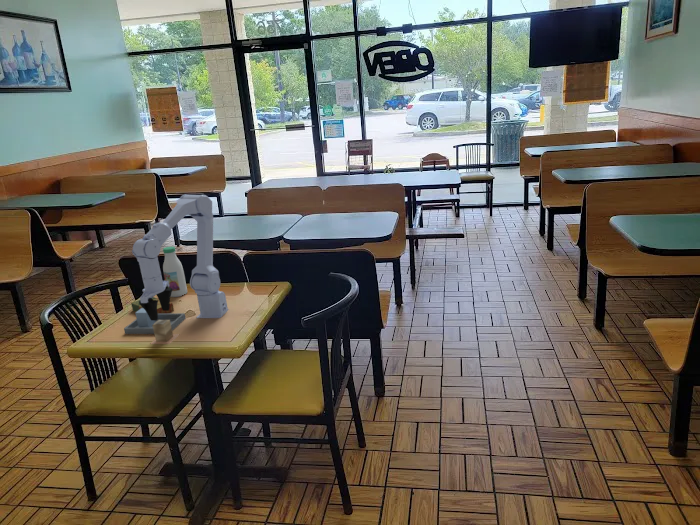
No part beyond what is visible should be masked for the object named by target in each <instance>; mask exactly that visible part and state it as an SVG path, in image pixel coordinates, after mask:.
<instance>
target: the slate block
mask: <svg viewBox="0 0 700 525" xmlns="http://www.w3.org/2000/svg"><path fill="white" fill-rule="evenodd" d="M135 317H136V319H137V322H138V327H139V328H150V327H152V326H153V324H154V323H155V321H154V320H151V319H150V318H149V316H148V314H147V312H146V311H145V309H144V308H141V309H140V310H138V311H137V312H135Z"/></svg>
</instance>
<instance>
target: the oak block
mask: <svg viewBox="0 0 700 525" xmlns="http://www.w3.org/2000/svg"><path fill="white" fill-rule="evenodd" d="M153 330H154V334H153V335H154V338H155V339H156V342H167V341H168V340H170V339H171V338H172V337H173V334H174V333H173V331H172V328H171V323H170V320H158V321H157V322H156V323H154V324H153ZM155 339H154V340H155Z"/></svg>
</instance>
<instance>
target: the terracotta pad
mask: <svg viewBox="0 0 700 525" xmlns="http://www.w3.org/2000/svg"><path fill="white" fill-rule="evenodd" d="M179 336H180V333H173V337H172V338H171V339H170V340H168V341H167V342H156V339H154V340H152V342H150V345H171V343H173V341H175V340H176V339H177V338H178V337H179Z"/></svg>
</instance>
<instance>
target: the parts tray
mask: <svg viewBox="0 0 700 525" xmlns="http://www.w3.org/2000/svg"><path fill="white" fill-rule="evenodd" d="M158 320H170V323H171V328H172V332H173V331H174V330H175V329H176V328H177V327H179V325H180V324H182V323H183V321H184V320H186V314H185V313H184V312H183V313H181V312H180V313H178V312H177V313H172V312H170V313H168V314H158ZM158 320H154V321H155V323H156V322H157V321H158ZM123 330H124V334H125V335H155V334H154V330H153V326H152V327H150V328H139V327H138V322H137V318H136V319H134V320H133V321H132V322H131V323H129V324H128V325H127V326H125V327H124V328H123Z"/></svg>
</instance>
